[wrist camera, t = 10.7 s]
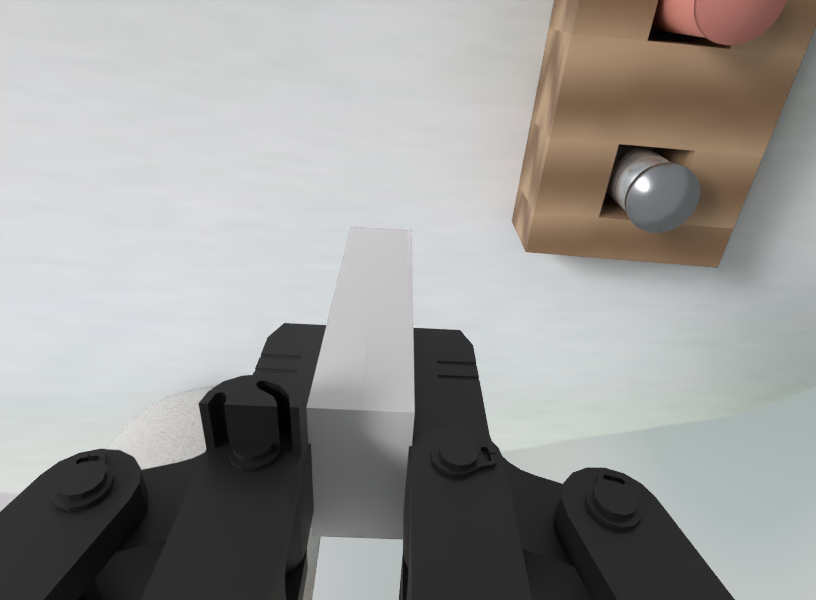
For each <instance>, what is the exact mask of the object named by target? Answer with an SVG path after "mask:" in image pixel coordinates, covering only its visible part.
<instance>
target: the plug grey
mask: <svg viewBox="0 0 816 600" xmlns="http://www.w3.org/2000/svg"><path fill="white" fill-rule="evenodd" d="M606 192H607V193H608V194H609V195H610V196H611V197H612V198H613V199H614V200H615V201H616V202H617V203H618V204H619V205H620V206H621V207H622V208H623V209H624V210H625V211H626V214H627V216H628V218H629V219H630V220H631V222H632V223H633V224H634V225H635V226H636V227H638V228H639V229H641V230H643V231H646V232H650V233H661V232H666V231H669V230H672V229H674V228H676V227H678V226H680V225H681V224H682V223H684V222H685V221H686V220H687V219H688V218H689V217H690V216H691V215H692V213H693V212H694V210H695V209H696V207H697V205H698V202H699V199H700V184H699V181H698V179H697V177H696V175H695V174H694V173H693V172H692V171H691V170H689V169H688V168H686V167H685V166H683V165H681V164H678V163H673V162H670V161H669V160H667V159H665V158H664V157H662V156H661V155H659V154H658V153H656V152H654V151H653V150H651V149H650V148H648V147H646V146H635V145H624V144H619V146H618V150H617V153H616V157H615V161H614V164H613V168H612V172H611V175H610V179H609V182H608V186H607V190H606Z"/></svg>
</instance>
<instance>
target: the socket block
mask: <svg viewBox="0 0 816 600" xmlns="http://www.w3.org/2000/svg"><path fill="white" fill-rule="evenodd" d="M657 4H658V0H554V4H553V9H552V15H551V20H550V25H549V30H548V36H547V41H546V46H545V51H544V56H543V62H542V67H541V72H540V77H539V83H538V88H537V93H536V98H535V104H534V109H533V114H532V119H531V124H530V130H529V135H528V140H527V145H526V151H525V156H524V161H523V166H522V172H521V177H520V182H519V187H518V192H517V198H516V203H515V208H514V213H513V219H512V222H513V225H514V227H515V229H516V231H517V234H518V236H519V238H520V240H521V242H522V245H523V247H524V249H525V251H526V252H531V253H544V254H556V255H569V256H581V257H594V258H606V259H619V260H631V261H643V262H656V263H668V264H681V265H693V266H706V267H718V265H719V263H720V260H721V258H722V255H723V253H724V250H725V248H726V245H727V243H728V241H729V238H730V236H731V233H732V231H733V228H734V226H735V223H736V221H737V219H738V216H739V214H740V211H741V209H742V206H743V204H744V201H745V199H746V196H747V194H748V192H749V189H750V187H751V184H752V182H753V179H754V177H755V174H756V172H757V170H758V167H759V165H760V162H761V160H762V157H763V155H764V152H765V150H766V147H767V145H768V143H769V140H770V138H771V135H772V133H773V130H774V128H775V125H776V123H777V121H778V118H779V116H780V113H781V111H782V108H783V106H784V103H785V101H786V98H787V96H788V94H789V91H790V89H791V86H792V84H793V81H794V79H795V76H796V74H797V72H798V69H799V67H800V64H801V62H802V59H803V57H804V54H805V52H806V49H807V47H808V45H809V42H810V40H811V37H812V35H813V32H814V30H815V27H816V0H787V2H786V4H785V6H784V8H783V10H782V12H781V14H780V15H779V17H778V18H777V19H776V21H775V22H774V23H773V24H772V25H771V26H770V27H769V28H768V29H767V30H766V31H765V32H764V33H763V34H761V35H760V36H758V37H757V38H755V39H753V40H751V41H749V42H746V43H743V44H739V45H723V44H718V43H715V42H712V41H710V40H708V39H707V38H705V37H698V36H691V35H687V37H686V40H685V41H675V40H664V39H654V38H648V37H649V33H650V29H651V26H652V22H653V18H654V15H655V11H656V7H657ZM619 144H624V145H635V146H646V147H653V148H652V150H653V151H654V152H656V153H658V154H659V155H661V156H662V157H664V158H665V159H667V160H669V161H670V162H673V163H678V164H681V165H683V166H685V167H686V168H688V169H689V170H691V171H692V172H693V173H694V174H695V175H696V177H697V179H698V181H699V184H700V199H699V202H698V205H697V207H696V209H695V210H694V212H693V213H692V215H691V216H690V217H689V218H688V219H687V220H686V221H685V222H684V223H682V224H681V225H680V226H678V227H676V228H674V229H672V230H669V231H666V232H661V233H650V232H646V231H643V230H641V229H639V228H638V227H636V226H635V225H634V224H633V223H632V222H631V220H630V219H629V218H628V216H627V214H626V211H625V210H624V209H623V208H622V207H621V206H620V205H619V204H618V203H617V202H616V201H615V200H614V199H613V198H612V197H611V196H610V195H609V194H608V193H606V190H607V186H608V182H609V179H610V175H611V172H612V168H613V164H614V161H615V157H616V153H617V150H618V146H619Z"/></svg>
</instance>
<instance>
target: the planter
mask: <svg viewBox="0 0 816 600" xmlns="http://www.w3.org/2000/svg"><path fill="white" fill-rule="evenodd" d="M211 389H212V388H203V389H194V390H189V391H184V392H181V393H177V394H174V395H171V396H169V397H166V398H164V399H162V400H160V401H158V402H156V403H154V404H152V405H151V406H149V407H148V408H146V409H145V410H143V411H142V412H141V413H139V414H138V415H137V416H136V417H135V418H134V419H133V420H131V421H130V422H129V423H128V424H127V425H126V427H125V428H124V429H123V430H122V431H121V432H120V433H119V434H118V435H117V436H116V437H115V438H114V439H113V440H112V442H111V443H110V444H109V445H108V447H107V448H106V449H112V450H121V451H123V452H125V453H127V454H129V455H131V456H133V457H134V458H135V459H136V461H137V463H138V464H139V466H140V467H141V470H143V469H148V468H153V467H158V466H162V465H167V464H172V463H177V462H181V461H184V460H188V459H191V458H194V457H196V456H198V455H200V454H202V453H205V451H206V444H205V438H204V433H203V427H202V421H201V415H200V410H199V404H198V403H199V402H200V401H201V399H202V398H203V397H204V396H205V395H206V393H207V392H208V391H209V390H211ZM319 545H320V536H312V522H311V528H310V533H309V539H308V544H307V561H308V571H307V577H306V583H305V589H304V595H303V600H312V596H313V589H314V581H315V574H316V566H317V559H318V552H319Z"/></svg>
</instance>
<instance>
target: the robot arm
mask: <svg viewBox="0 0 816 600" xmlns="http://www.w3.org/2000/svg"><path fill="white" fill-rule="evenodd" d="M198 404H199V410H200V415H201V421H202V427H203V433H204V438H205V444H206V451H205V453H202V454H200V455H198V456H196V457H194V458H191V459H188V460H184V461H181V462H177V463H172V464H167V465H162V466H158V467H153V468H148V469H143V470H141V467H140V466H139V464H138V463H137V461H136V459H135V458H134V457H133V456H131V455H129V454H127V453H125V452H123V451H121V450H112V449H97V450H92V451H87V452H82V453H78V454H76V455H74V456H71V457H69V458H67V459H64V460H62V461H60V462H58V463H57V464H55V465H54V466H52V467H51V468H50V469H48V470H47V471H45V472H44V473H43V474H41V475H40V476H39V477H38V478H37V479H36V480H34V481H33V482H32V483H31V484H30V485H29V486H28V487H27V488H26V489H25V490H24V491H23V492H21V493H20V494H19V495H18V496H17V497H16V498H15V499H14V500H13V501H12V502H11V503H9V505H7V506H6V507H5V508H4V509H3V510H2V511H1V512H0V600H303V595H304V589H305V583H306V577H307V571H308V561H307V544H308V539H309V533H310V528H311V522H312V536H329V537H354V538H380V539H403V558H402V570H401V581H400V593H399V600H735V599H734V598H733V597H732V595H731V594H730V593H729V592H728V590H727V589H726V588H725V586H724V585H723V584H722V583H721V581H720V580H719V579H718V577H717V576H716V575H715V574H714V572H713V571H712V570H711V568H710V567H709V566H708V565H707V563H706V562H705V560H704V559H703V558H702V557H701V555H700V554H699V553H698V551H697V550H696V549H695V548H694V546H693V545H692V544H691V542H690V541H689V540H688V538H686V536H685V535H684V533H683V532H682V531H681V529H680V528H679V527H678V526H677V524H676V523H675V522H674V520H673V519H672V518H671V516H670V515H669V514H668V513H667V511H666V510H665V509H664V507H663V506H662V505H661V504H660V502H659V501H658V500H657V498H656V497H655V496H654V495H653V494H652V493H651V492H650V491H648V489H646V488H645V487H644V486H643V485H642V484H641V483H639V482H638V481H636V480H634V479H632V478H631V477H629V476H627V475H626V474H624V473H620V472H617V471H614V470H610V469H607V468H584V469H582V470H579V471H576V472H573V473H572V474H571V475H570V476H569V477H568V478H567V480H566V481H565V482H564V483H563V484H561V483H558V482H555V481H551V480H548V479H545V478H542V477H538V476H535V475H533V474H530V473H528V472H525V471H522V470H520V469H519V468H517V467H516V466H514V465H512V464H511V463H509V462H508V461H507V460H506V459H505V458H503V456H502V455H501V453H500V450H499V448H498V447H497V446H496V445H495V444H494V443H493V442H492V441H491V438H490V435H489V430H488V425H487V419H486V414H485V408H484V403H483V397H482V392H481V386H480V381H479V375H478V370H477V366H476V359H475V354H474V348H473V345H472V344H471V342H470V341H469V340H468V339H467V338H466V337H465V335H464V334H463V333H462V332H461V331H460V330H446V329H426V328H413V276H412V230H399V229H381V228H363V227H350V230H349V235H348V239H347V243H346V247H345V251H344V255H343V259H342V263H341V268H340V272H339V276H338V280H337V284H336V288H335V292H334V296H333V300H332V305H331V309H330V313H329V317H328V321H327V325H310V324H290V323H284V324H283V325H282V326H280V327H279V328H278V329H277V330H276V331H275V332H273V333H272V334H271V335H270V336H269V337H268V338H267V341H266V343H265V346H264V348H263V351H262V353H261V357H260V358H259V361H258V363H257V365H256V368H255V372H254V373H253V375H247V376H240V377H237V378H233V379H230V380H227V381H224V382H222V383H221V384H219V385H217V386H216V387H214V388H212V389H211V390H209V391H208V392H207V393H206V395H205V396H204V397H203V398H202V399H201V401H200V402H199V403H198Z"/></svg>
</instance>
